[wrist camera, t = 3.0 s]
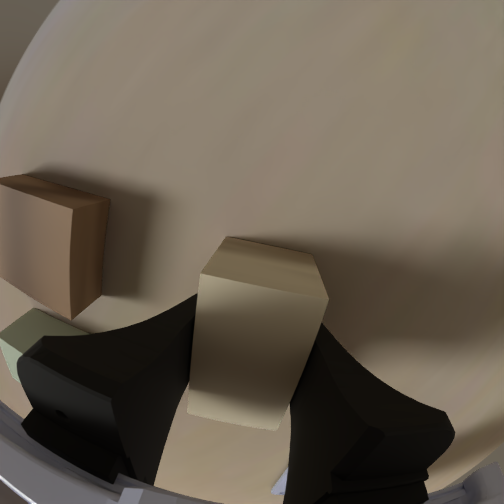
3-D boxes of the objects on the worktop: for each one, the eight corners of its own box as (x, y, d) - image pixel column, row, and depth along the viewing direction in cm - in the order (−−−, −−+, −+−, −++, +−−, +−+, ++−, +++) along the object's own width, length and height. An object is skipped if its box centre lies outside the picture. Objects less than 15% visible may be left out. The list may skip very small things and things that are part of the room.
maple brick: (226, 236, 11) (200, 273, 7) (312, 254, 11) (328, 299, 7) (208, 353, 13) (187, 413, 9) (278, 367, 13) (276, 430, 9)
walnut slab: (113, 198, 11) (73, 209, 8) (104, 293, 13) (71, 320, 10) (25, 173, 11) (-12, 180, 8) (22, 253, 13) (-11, 269, 10)
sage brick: (103, 337, 14) (66, 379, 10) (109, 379, 15) (80, 420, 11) (34, 306, 14) (-4, 335, 10) (44, 347, 15) (12, 377, 11)
